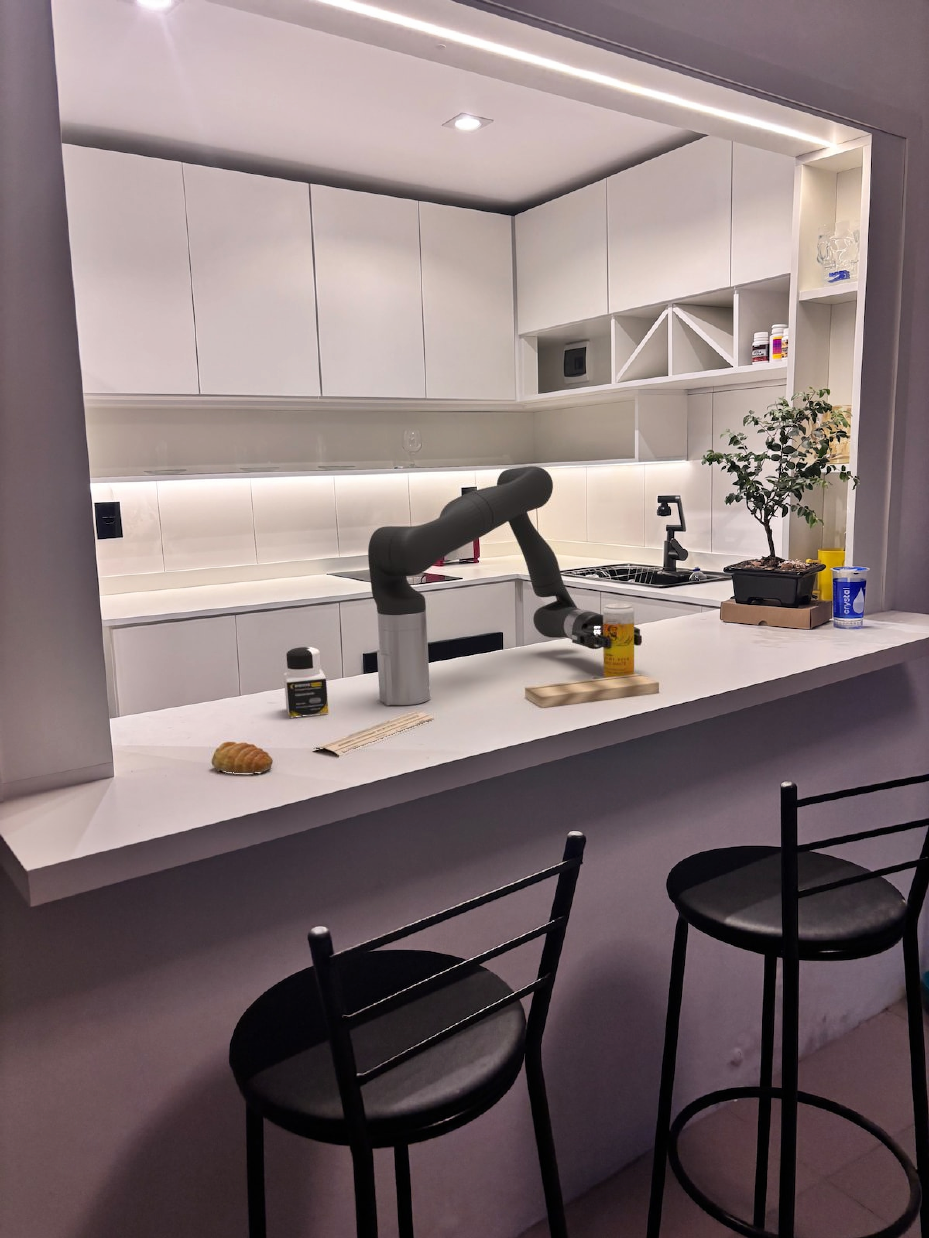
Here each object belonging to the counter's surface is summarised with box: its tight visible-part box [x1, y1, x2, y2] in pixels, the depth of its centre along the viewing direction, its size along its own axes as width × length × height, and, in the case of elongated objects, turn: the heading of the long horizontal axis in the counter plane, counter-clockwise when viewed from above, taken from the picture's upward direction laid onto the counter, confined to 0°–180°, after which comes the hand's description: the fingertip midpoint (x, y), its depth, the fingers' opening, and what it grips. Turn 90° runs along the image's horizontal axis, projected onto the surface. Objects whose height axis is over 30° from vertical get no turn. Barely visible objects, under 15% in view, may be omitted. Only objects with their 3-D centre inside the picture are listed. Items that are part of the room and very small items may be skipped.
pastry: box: [211, 741, 274, 773], centre depth 133 cm, size 9×7×4 cm
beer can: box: [602, 603, 635, 678], centre depth 177 cm, size 6×6×15 cm
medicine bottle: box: [283, 646, 329, 717], centre depth 164 cm, size 7×7×12 cm
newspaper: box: [315, 711, 435, 756], centre depth 148 cm, size 24×7×2 cm, turn 143°
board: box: [524, 673, 660, 708], centre depth 168 cm, size 24×8×2 cm, turn 108°
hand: (624, 642), depth 175 cm, fingers closed on beer can, 6 cm apart
